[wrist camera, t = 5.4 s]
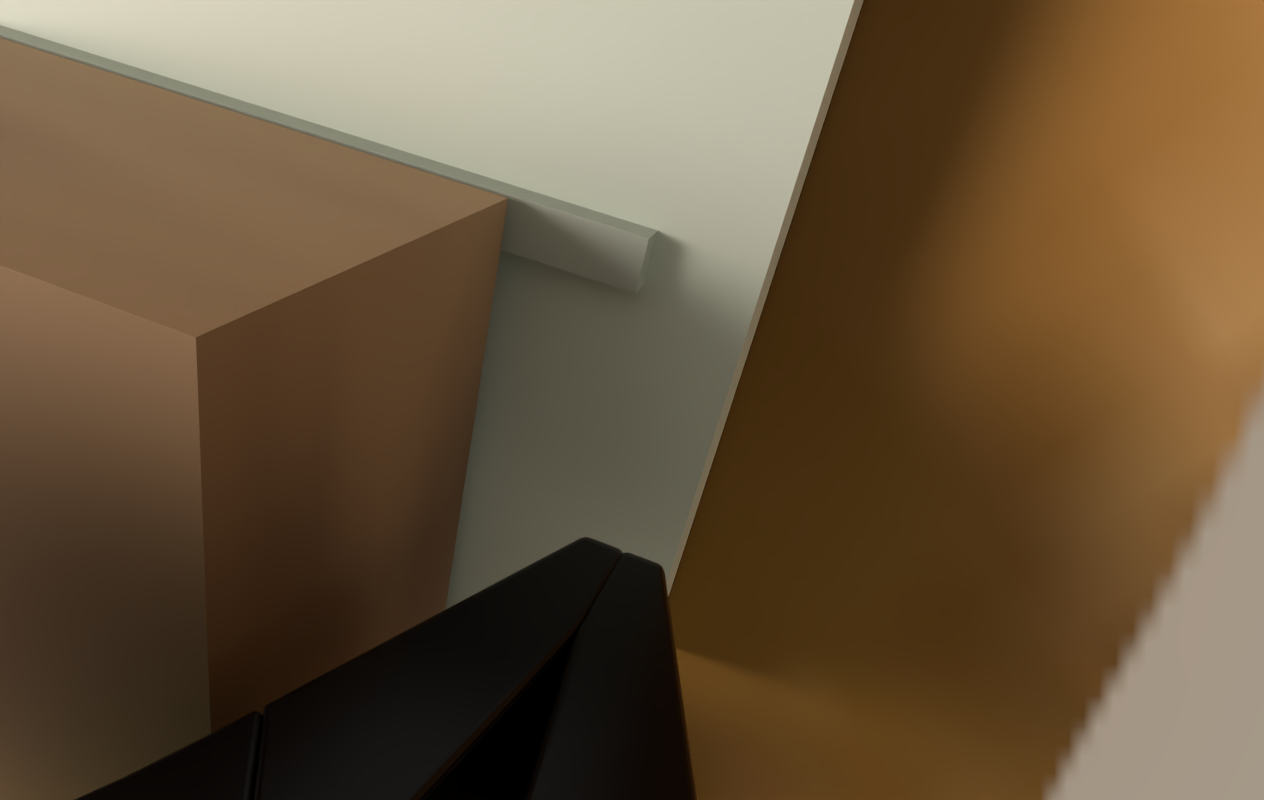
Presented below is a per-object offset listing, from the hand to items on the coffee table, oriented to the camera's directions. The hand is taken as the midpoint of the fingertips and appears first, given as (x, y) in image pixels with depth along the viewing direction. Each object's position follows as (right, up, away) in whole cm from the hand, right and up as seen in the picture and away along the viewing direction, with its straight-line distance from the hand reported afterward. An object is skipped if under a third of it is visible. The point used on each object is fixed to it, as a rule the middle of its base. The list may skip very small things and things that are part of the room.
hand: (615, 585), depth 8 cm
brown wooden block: (-4, +2, +1) cm, 5 cm away
